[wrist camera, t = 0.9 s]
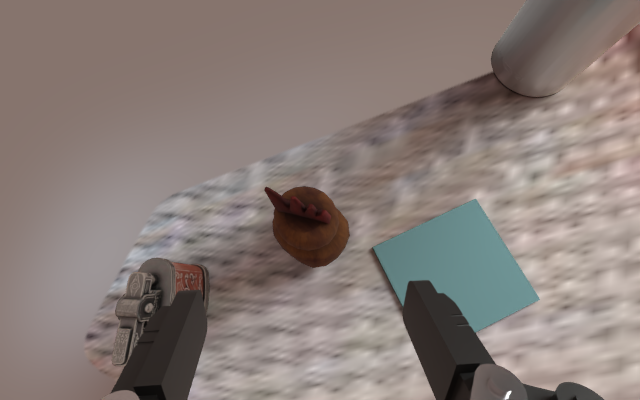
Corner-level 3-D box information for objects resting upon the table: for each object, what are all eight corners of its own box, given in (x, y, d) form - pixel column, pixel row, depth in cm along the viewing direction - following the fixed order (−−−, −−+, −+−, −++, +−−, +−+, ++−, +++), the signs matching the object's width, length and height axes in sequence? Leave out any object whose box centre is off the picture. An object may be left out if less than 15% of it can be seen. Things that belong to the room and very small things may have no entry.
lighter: (182, 263, 31) (115, 253, 22) (213, 264, 31) (160, 255, 22) (168, 347, 29) (86, 378, 20) (202, 350, 29) (136, 382, 19)
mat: (474, 199, 32) (475, 198, 31) (537, 299, 29) (540, 299, 29) (372, 247, 31) (372, 247, 31) (427, 355, 28) (428, 356, 28)
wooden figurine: (272, 239, 32) (220, 201, 17) (306, 197, 33) (283, 128, 18) (323, 280, 30) (312, 275, 16) (356, 235, 31) (375, 192, 17)
